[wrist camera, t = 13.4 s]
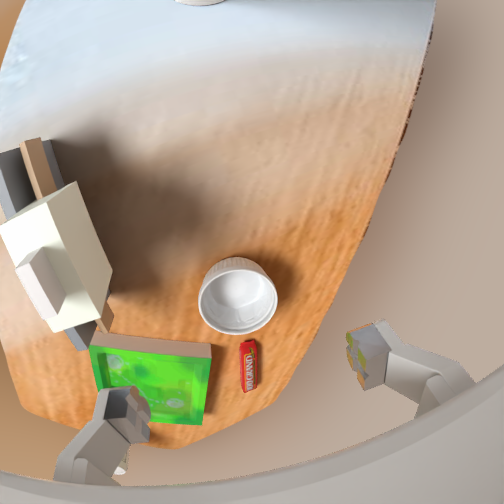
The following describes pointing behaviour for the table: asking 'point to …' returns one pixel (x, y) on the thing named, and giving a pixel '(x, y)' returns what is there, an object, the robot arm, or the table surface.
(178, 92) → the table surface
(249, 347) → the candy bar
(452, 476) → the robot arm
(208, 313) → the ramekin
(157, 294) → the table surface
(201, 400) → the tray
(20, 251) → the off-white handled block
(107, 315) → the wall board
